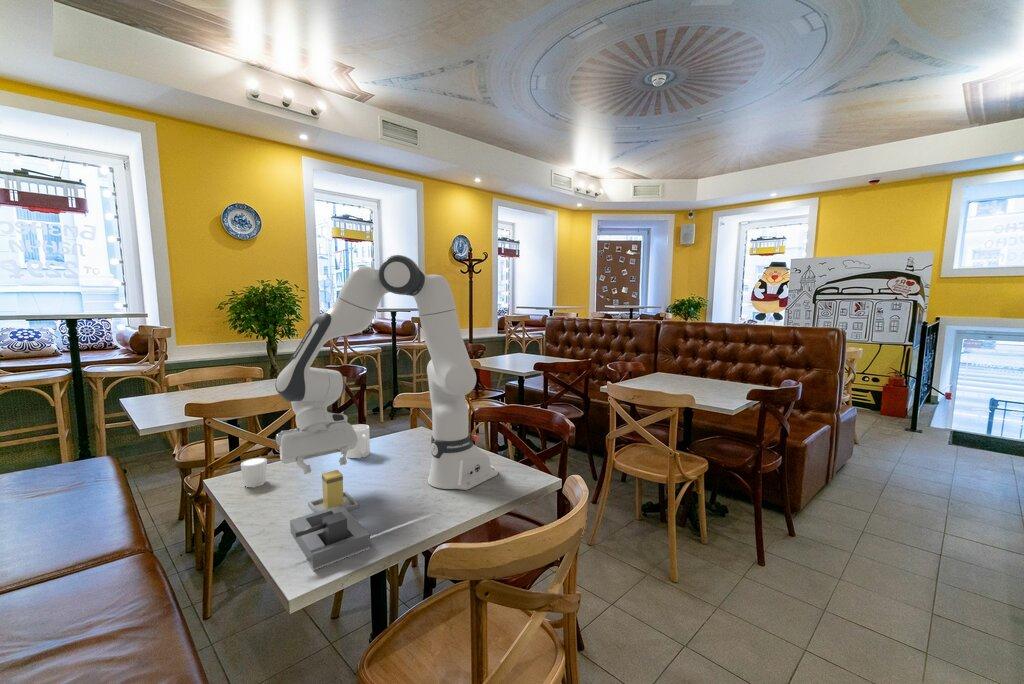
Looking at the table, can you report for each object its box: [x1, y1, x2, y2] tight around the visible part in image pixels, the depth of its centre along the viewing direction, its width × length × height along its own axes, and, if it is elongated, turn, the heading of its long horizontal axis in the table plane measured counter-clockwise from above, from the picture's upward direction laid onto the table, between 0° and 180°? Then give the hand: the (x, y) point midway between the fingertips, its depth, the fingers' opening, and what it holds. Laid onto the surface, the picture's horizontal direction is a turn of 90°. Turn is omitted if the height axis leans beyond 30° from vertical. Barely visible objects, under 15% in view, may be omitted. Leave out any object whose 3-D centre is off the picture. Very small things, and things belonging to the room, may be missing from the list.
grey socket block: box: [289, 505, 371, 571], centre depth 96 cm, size 14×18×8 cm
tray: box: [307, 490, 360, 513], centre depth 112 cm, size 10×10×1 cm
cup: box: [346, 423, 371, 459], centre depth 150 cm, size 8×12×10 cm
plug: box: [321, 469, 344, 509], centre depth 112 cm, size 4×4×9 cm
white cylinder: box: [240, 457, 268, 488], centre depth 127 cm, size 7×7×7 cm
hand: (326, 468), depth 115 cm, fingers open, 8 cm apart
